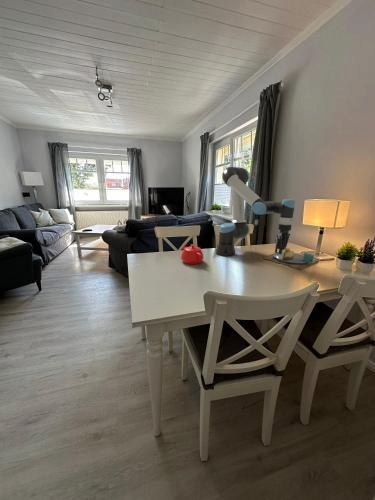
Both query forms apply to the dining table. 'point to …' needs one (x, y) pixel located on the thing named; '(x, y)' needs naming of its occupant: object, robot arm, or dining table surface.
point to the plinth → (296, 266)
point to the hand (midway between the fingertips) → (280, 258)
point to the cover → (288, 254)
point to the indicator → (276, 245)
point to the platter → (296, 258)
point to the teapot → (192, 254)
